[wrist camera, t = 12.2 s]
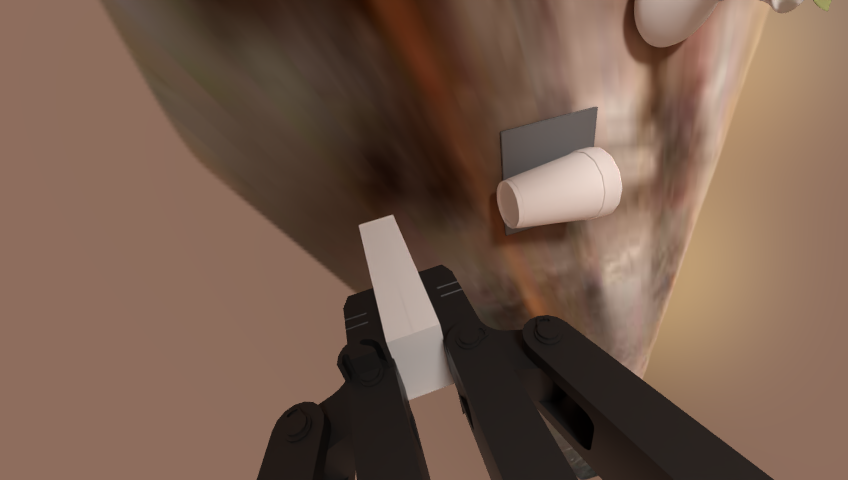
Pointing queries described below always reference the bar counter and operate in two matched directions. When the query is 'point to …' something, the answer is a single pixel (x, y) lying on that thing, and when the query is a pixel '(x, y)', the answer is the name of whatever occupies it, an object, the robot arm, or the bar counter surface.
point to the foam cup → (562, 190)
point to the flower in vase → (687, 17)
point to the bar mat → (545, 144)
